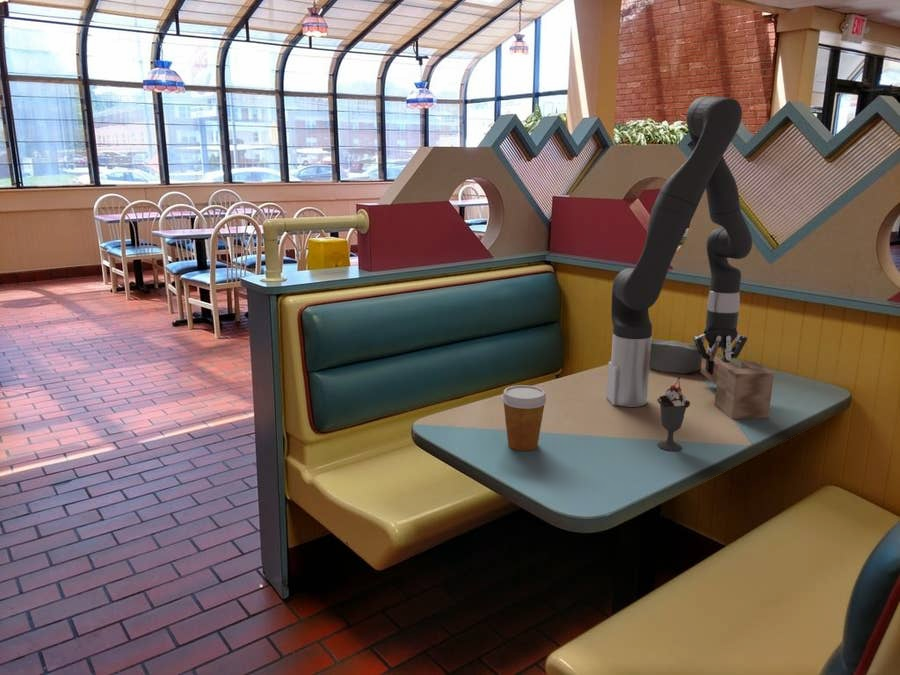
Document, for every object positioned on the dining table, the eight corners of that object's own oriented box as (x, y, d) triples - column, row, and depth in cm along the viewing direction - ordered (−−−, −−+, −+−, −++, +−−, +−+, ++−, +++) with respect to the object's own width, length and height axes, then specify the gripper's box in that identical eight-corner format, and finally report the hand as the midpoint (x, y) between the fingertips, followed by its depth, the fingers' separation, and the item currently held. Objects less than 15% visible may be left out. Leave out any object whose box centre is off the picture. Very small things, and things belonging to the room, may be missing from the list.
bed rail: (734, 399, 171) (736, 379, 170) (700, 372, 190) (702, 354, 189) (746, 399, 171) (748, 379, 170) (711, 372, 190) (713, 354, 189)
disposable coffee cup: (516, 432, 158) (518, 381, 155) (553, 443, 152) (555, 390, 149) (491, 446, 151) (492, 392, 147) (529, 458, 145) (531, 402, 142)
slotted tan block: (731, 418, 166) (736, 374, 163) (714, 405, 175) (719, 362, 172) (768, 417, 167) (773, 373, 164) (749, 404, 176) (754, 361, 173)
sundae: (682, 440, 154) (688, 374, 150) (689, 453, 147) (695, 384, 143) (650, 439, 154) (656, 373, 150) (656, 452, 148) (662, 383, 144)
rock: (712, 367, 206) (714, 341, 203) (703, 378, 196) (705, 350, 194) (649, 358, 215) (650, 333, 213) (638, 368, 205) (639, 341, 203)
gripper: (701, 312, 175) (696, 378, 180) (757, 311, 176) (749, 377, 181) (689, 305, 183) (684, 369, 187) (742, 304, 183) (736, 368, 188)
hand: (716, 373), depth 184 cm, fingers closed on bed rail, 3 cm apart
